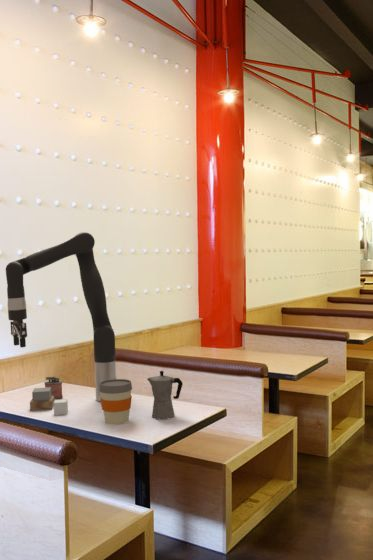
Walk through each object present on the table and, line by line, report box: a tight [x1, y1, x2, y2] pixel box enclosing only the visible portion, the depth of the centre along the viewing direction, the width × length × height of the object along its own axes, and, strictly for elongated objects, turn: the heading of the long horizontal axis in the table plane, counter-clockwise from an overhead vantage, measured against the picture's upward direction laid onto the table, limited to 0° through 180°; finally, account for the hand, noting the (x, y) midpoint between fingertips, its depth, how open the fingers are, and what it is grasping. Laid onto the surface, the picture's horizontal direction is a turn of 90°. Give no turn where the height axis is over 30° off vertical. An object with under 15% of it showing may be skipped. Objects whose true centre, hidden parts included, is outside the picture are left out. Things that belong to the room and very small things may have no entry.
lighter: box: [44, 375, 64, 400], centre depth 255 cm, size 8×3×10 cm, turn 84°
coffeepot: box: [146, 370, 183, 420], centre depth 220 cm, size 15×9×18 cm, turn 66°
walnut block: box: [29, 396, 55, 412], centre depth 240 cm, size 9×9×4 cm
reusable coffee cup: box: [99, 378, 133, 425], centre depth 216 cm, size 13×13×15 cm
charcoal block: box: [31, 387, 51, 402], centre depth 240 cm, size 7×7×4 cm
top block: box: [53, 398, 69, 416], centre depth 230 cm, size 5×5×5 cm
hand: (19, 346), depth 239 cm, fingers open, 8 cm apart
